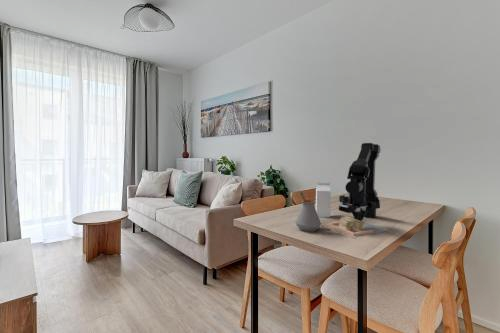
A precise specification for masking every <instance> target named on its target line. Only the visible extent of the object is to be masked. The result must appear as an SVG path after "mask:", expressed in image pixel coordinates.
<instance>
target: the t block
mask: <svg viewBox="0 0 500 333" xmlns="http://www.w3.org/2000/svg"><path fill="white" fill-rule="evenodd" d="M338 222H339V227H340V228H343V229H346V230H348V231H351V230H353V231H356V232H360V231H365V223H366V221H363V220H362V221H360V220H357V219H354V217H349V216H342V217H340V219H339V220H338Z"/></svg>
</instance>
